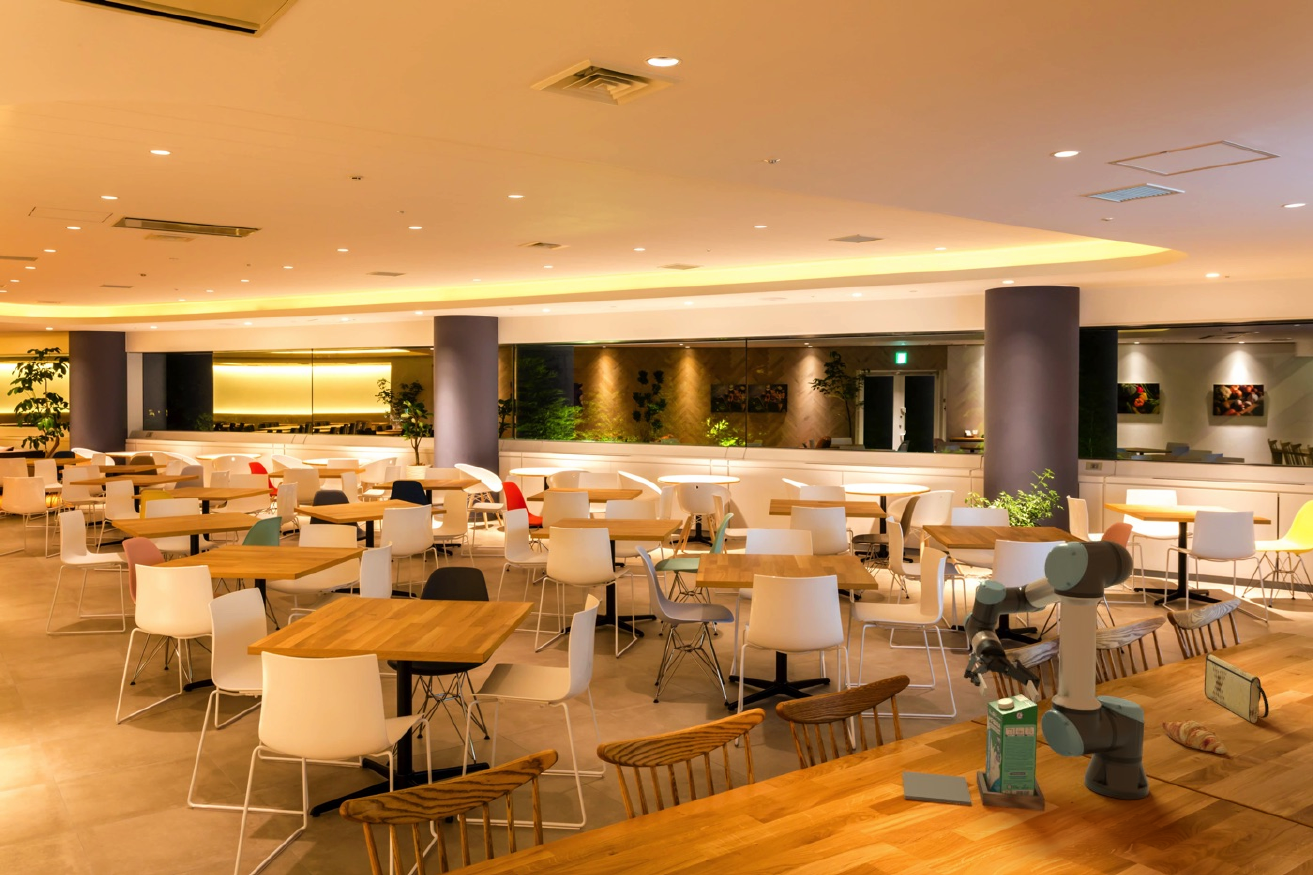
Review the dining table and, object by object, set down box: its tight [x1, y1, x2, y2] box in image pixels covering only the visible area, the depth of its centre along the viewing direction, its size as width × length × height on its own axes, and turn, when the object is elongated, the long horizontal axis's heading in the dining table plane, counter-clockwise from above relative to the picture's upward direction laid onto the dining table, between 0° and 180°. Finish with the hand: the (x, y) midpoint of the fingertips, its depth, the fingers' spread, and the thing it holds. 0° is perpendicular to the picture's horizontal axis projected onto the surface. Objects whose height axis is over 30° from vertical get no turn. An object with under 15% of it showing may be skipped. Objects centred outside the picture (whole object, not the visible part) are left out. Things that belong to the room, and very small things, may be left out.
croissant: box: [1161, 719, 1227, 755], centre depth 289 cm, size 21×10×8 cm, turn 22°
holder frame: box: [976, 770, 1046, 812], centre depth 250 cm, size 14×14×3 cm
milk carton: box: [985, 693, 1039, 796], centre depth 250 cm, size 9×9×25 cm
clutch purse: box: [1204, 653, 1270, 724], centre depth 320 cm, size 30×7×15 cm, turn 0°
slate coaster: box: [902, 770, 972, 806], centre depth 254 cm, size 16×16×1 cm
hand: (1010, 695), depth 259 cm, fingers open, 13 cm apart
